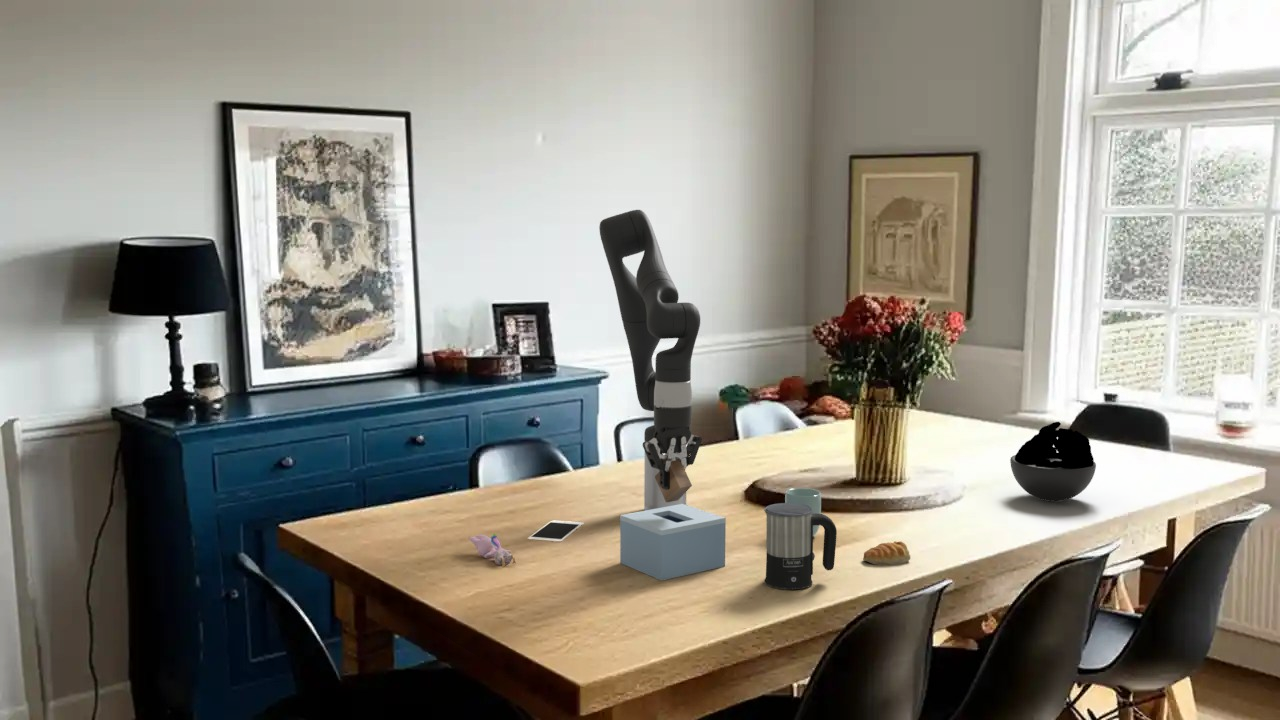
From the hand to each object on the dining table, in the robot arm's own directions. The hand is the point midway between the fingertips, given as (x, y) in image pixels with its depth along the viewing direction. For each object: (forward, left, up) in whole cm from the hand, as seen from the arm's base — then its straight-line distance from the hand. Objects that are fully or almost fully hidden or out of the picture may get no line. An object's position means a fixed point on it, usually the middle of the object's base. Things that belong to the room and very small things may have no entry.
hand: (672, 487), depth 235 cm
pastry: (-38, +23, -16) cm, 48 cm away
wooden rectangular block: (0, +2, -1) cm, 2 cm away
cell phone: (+6, -35, -17) cm, 39 cm away
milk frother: (-14, +20, -16) cm, 29 cm away
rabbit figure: (+28, -25, -16) cm, 41 cm away
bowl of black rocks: (-109, +12, -16) cm, 111 cm away
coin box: (0, 0, -16) cm, 16 cm away
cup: (-36, 0, -16) cm, 40 cm away
